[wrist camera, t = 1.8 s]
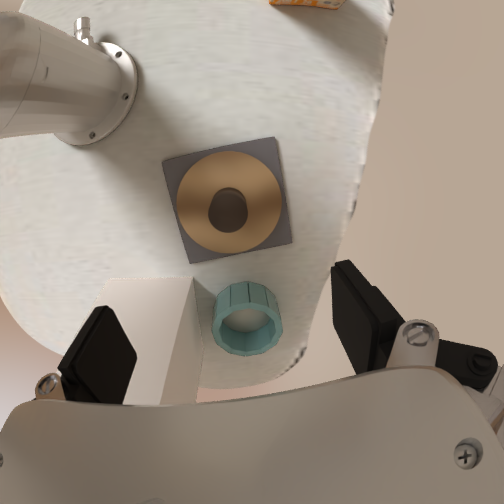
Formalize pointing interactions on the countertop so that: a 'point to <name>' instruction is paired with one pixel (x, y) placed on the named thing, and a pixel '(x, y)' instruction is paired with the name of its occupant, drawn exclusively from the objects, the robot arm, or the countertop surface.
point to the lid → (229, 202)
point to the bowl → (246, 319)
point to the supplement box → (311, 3)
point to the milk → (158, 336)
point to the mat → (255, 148)
